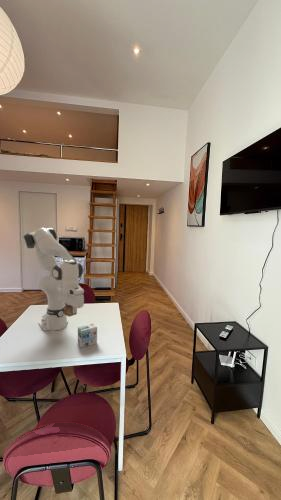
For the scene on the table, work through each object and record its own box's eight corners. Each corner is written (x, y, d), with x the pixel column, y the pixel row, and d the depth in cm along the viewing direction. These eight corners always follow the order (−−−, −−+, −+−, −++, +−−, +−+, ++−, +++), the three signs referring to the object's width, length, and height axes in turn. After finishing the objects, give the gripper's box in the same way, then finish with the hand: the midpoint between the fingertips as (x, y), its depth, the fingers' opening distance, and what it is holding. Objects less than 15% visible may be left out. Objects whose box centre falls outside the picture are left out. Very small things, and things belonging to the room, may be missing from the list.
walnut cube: (64, 314, 127) (64, 305, 126) (71, 311, 131) (71, 303, 130) (69, 316, 124) (69, 308, 123) (76, 314, 128) (76, 305, 127)
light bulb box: (81, 348, 133) (81, 331, 132) (77, 343, 138) (77, 326, 137) (97, 343, 139) (97, 326, 138) (93, 338, 144) (93, 322, 143)
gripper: (55, 285, 130) (55, 308, 131) (76, 293, 117) (76, 318, 118) (65, 283, 135) (65, 305, 136) (86, 290, 122) (85, 314, 123)
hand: (70, 311), depth 127 cm, fingers closed on walnut cube, 5 cm apart
